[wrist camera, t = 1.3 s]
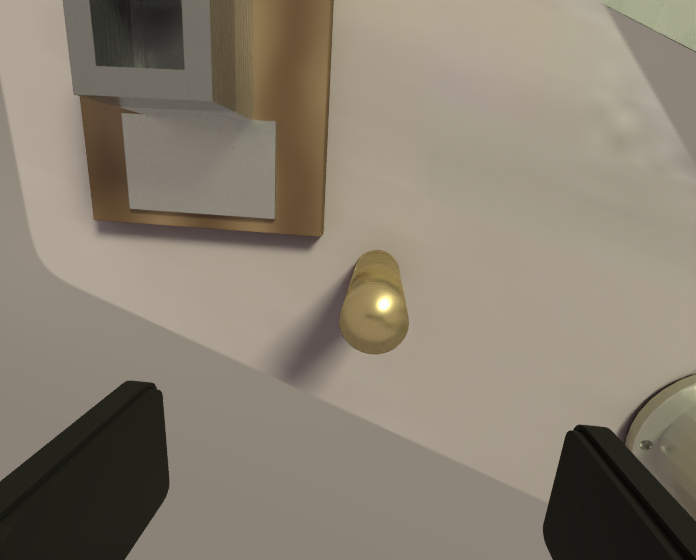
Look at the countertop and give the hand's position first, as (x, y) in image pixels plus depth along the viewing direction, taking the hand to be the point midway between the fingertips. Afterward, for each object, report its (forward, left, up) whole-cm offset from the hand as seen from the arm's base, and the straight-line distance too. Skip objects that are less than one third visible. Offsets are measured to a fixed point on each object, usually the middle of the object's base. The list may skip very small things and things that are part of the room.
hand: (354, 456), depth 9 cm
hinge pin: (0, 0, -19) cm, 19 cm away
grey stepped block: (+12, -13, -17) cm, 25 cm away
